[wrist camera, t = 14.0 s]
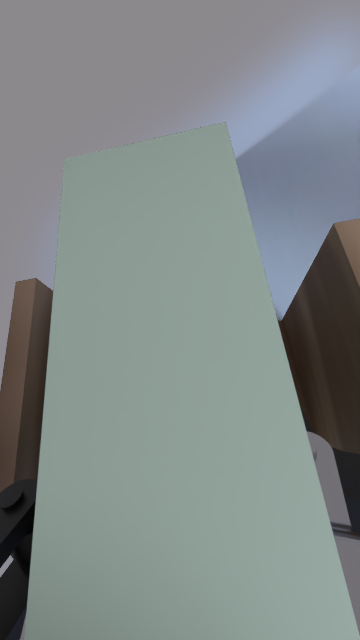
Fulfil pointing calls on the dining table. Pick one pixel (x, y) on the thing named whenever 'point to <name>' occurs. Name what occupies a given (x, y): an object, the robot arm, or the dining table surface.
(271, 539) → the book
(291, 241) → the dining table surface
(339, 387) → the cubby
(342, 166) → the dining table surface
